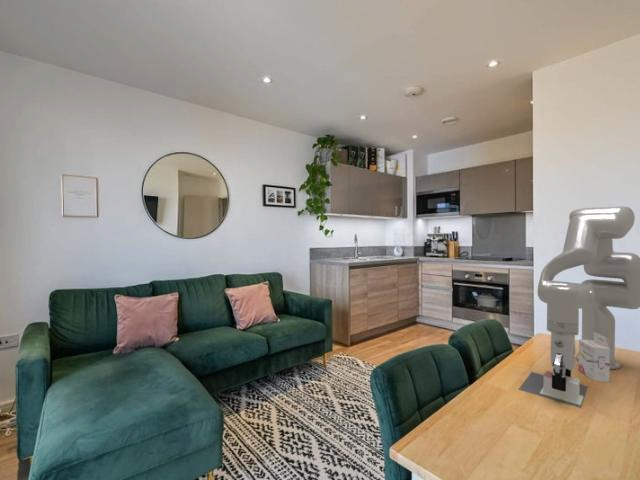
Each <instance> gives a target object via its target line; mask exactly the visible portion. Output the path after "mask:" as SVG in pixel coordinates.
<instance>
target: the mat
mask: <svg viewBox="0 0 640 480" xmlns="http://www.w3.org/2000/svg"><path fill="white" fill-rule="evenodd" d="M543 386H544V374H541V373H538V372H533V371H531V372H530V373H529V374H528V376H527V377H526V379H525V380H524V381H523V383H522V384H521V385H520V387H519V388H518V390H519V391H522V392H525V393H528V394H532V395H536V396H539V397H542V398H546V399H548V400H549V399H550V400H552V401H556V402H560V403H563V404H566V405H568V406H569V405H570V406H574V407H576V408H580V409H582V406H583V402H584V400H585V399H584V398H585V396H586V394H587V390H588V385H585V384H582V383H581V384H580V394H579V399H578V402H574V401H571V400H567V399H564V398H560V397H557V396H553V395H550V394H546V393H543Z"/></svg>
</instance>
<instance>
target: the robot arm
mask: <svg viewBox="0 0 640 480" xmlns="http://www.w3.org/2000/svg"><path fill="white" fill-rule="evenodd" d="M568 219H569V222H568V227H567V230H566V235H565V241H564V243H563V244H564V245H563V249H562V252H561V253H560V254H558V255H556V256H554V257H553V258H552V259H551V260H550V261H549V262H547V264H546V265H544V267H543V268H542V270H541V271H540V272H541V273H540V277H539V280H538V284H537V285H538V286H537V297H538V299H539V300H540V301H541V302H542V303H545V304H546V307H547V308H546V330H547V331H548V332H550V365H551V366H552V367H553V368H552V372H553V373H552V388H553V389H556V390H560V391H564V392H565V391H566V377H565V376H568V377H572V370H573V369H574V366H575V365H576V360H577V361H578V362H579V353H577V354H576V338H575V336H578V335H579V332H580V331H579V327H580V326H579V324H580V322H579V319H580V318H579V317H580V311H579V310H580V309H581V339H582V340H594V335H593V332H595V333H597V334H600V335H602V336H604V337H606V338H608V339H609V348H610V368H609V370H618V369H620V368H621V363H620V362H619V361H617V360H615V358H616V357H615V356H616V355H615V353H616V352H615V350H616V340H615V339H616V318H615V316H614V314H613V313H612V312H611V310H610V309H609V308H608V307H611V308H619V309H628V310H638V309H640V256H639V255H638V254H636V253H634V252H624V251H623V252H622V251H621V252H619V251H617V252H616V251H614V248H613V242H614V241H613V240H614V239H615V240H619V239H622V238H624V237H626V235H628V233H629V232H630V231H631V229H633V227H634V224H635V213H634V211H633V209H632V208H631V207H629V206H607V207H605V206H604V207H601V206H600V207H585V208H579V209H578V208H577V209H574V210H572V211H571V212H570V213H569V217H568ZM580 266H583V270H584V272H585V274H586V275H588V276H591V277H594V278H595V277H596V278H606V280H605V279H592V278H591V279H586V280H583V281H582V282H581V283H579V282H570V281H569V282H567V281H561V280H560V281H558V280H554V279H555V277H556V276H558V274H560V273H562V272H564V271H566V270H569V269H572V268H573V269H574V268H576V267H580ZM607 279H619V280H622V281H618V280H617V281H616V280H607ZM599 339H600V340H601V341H604V340H603V339H601V338H599Z"/></svg>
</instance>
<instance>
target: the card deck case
mask: <svg viewBox="0 0 640 480" xmlns="http://www.w3.org/2000/svg"><path fill="white" fill-rule="evenodd" d="M552 373H553V371H548V370H546V371H545V373H544V374H543V375H544V386H543V393H546V394H550V395H553V396H557V397H560V398H564V399H567V400H571V401H574V402H578V399H579V394H580V383H581V380H580V378H575V377H573V376H571V377H568V376H565V377H566V391H565V392H564V391H560V390H556V389H553V388H552Z"/></svg>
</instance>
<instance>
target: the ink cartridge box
mask: <svg viewBox="0 0 640 480" xmlns="http://www.w3.org/2000/svg"><path fill="white" fill-rule="evenodd" d="M593 335H594V340H582V338H581V339H578V354H579V361H578V371H579V372H580V373H581V374H583V375H585V377H588V379H590V380H592V381H593V382H594V381H595V382H606V383H609V382H610V369H609V368H610V348H609V339H608V338H606V337H604V336H602V335H600V334H597V333H595V332H593ZM599 338H601V339H603V340H604V341H601V340H600V339H599Z"/></svg>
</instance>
